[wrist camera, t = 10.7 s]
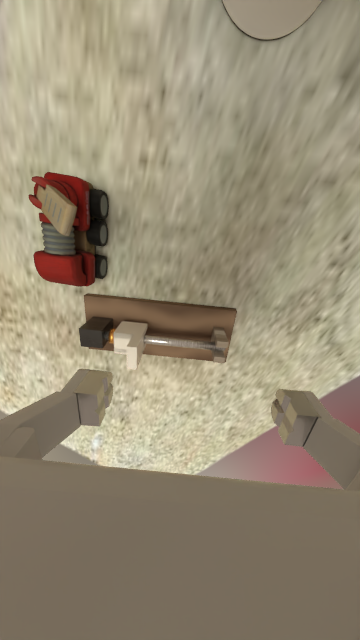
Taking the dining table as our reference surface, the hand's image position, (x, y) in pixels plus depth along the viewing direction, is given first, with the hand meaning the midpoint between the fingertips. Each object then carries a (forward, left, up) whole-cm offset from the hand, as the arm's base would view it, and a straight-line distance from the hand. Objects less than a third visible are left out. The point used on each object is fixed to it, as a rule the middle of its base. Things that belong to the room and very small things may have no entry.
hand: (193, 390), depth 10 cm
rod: (+12, -5, -30) cm, 32 cm away
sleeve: (+12, -10, -28) cm, 32 cm away
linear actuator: (+12, -5, -31) cm, 34 cm away
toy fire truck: (-5, -18, -32) cm, 37 cm away
